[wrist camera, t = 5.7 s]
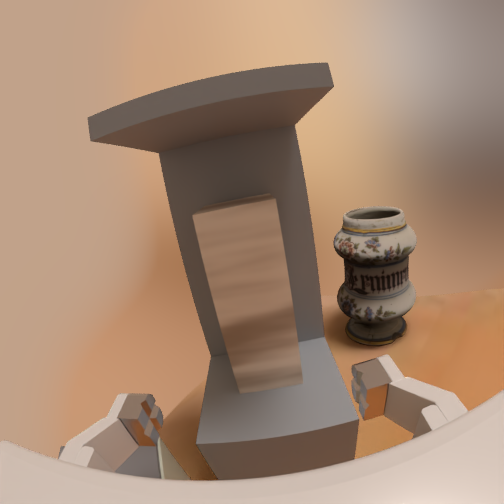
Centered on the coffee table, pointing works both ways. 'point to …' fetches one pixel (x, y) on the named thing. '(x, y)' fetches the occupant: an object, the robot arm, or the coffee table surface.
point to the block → (251, 290)
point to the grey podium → (295, 246)
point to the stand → (151, 463)
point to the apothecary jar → (375, 273)
